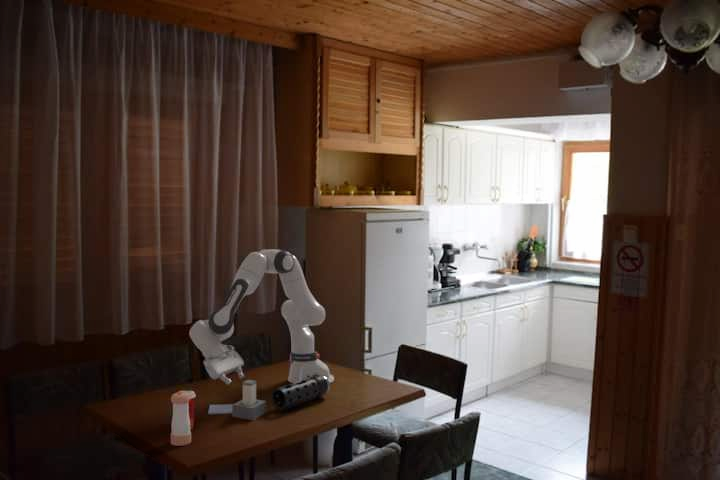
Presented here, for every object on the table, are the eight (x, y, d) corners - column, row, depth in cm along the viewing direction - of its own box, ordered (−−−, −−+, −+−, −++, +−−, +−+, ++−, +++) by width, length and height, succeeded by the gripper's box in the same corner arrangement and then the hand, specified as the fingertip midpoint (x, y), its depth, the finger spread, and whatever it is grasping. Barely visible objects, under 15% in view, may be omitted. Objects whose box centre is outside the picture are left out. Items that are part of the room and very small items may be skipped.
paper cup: (179, 424, 262) (178, 389, 261) (198, 424, 262) (198, 390, 261) (172, 431, 255) (172, 395, 254) (192, 432, 254) (192, 396, 253)
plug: (247, 412, 277) (247, 379, 276) (256, 414, 276) (256, 380, 274) (242, 415, 273) (242, 382, 272) (251, 417, 272) (251, 383, 271)
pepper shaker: (166, 444, 243) (166, 392, 241) (178, 437, 249) (178, 387, 248) (183, 447, 240) (182, 395, 238) (195, 440, 247) (194, 389, 245)
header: (245, 409, 281) (245, 397, 281) (266, 412, 277) (266, 401, 277) (232, 416, 272) (232, 404, 271) (253, 420, 268) (253, 408, 268)
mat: (233, 405, 285) (233, 404, 285) (232, 413, 276) (232, 412, 275) (210, 406, 284) (210, 404, 284) (207, 414, 274) (207, 412, 274)
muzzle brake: (270, 409, 281) (270, 386, 280) (315, 394, 303) (315, 372, 302) (286, 415, 275) (286, 390, 275) (331, 398, 297) (331, 376, 296)
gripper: (206, 355, 268) (226, 382, 265) (234, 344, 287) (253, 369, 284) (197, 365, 270) (217, 392, 267) (225, 353, 289) (244, 378, 286)
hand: (236, 380), depth 276 cm, fingers open, 8 cm apart
